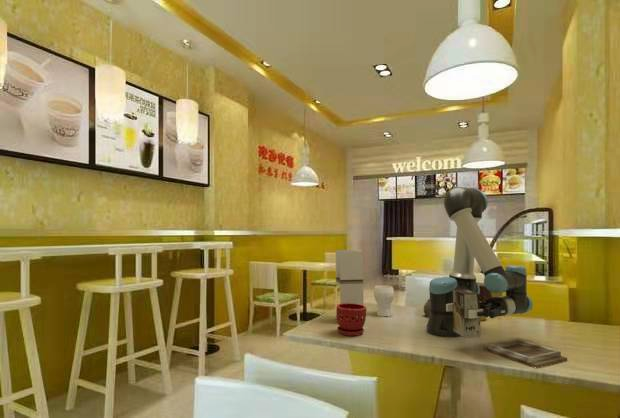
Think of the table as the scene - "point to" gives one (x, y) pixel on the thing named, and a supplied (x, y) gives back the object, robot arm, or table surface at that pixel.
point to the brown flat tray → (526, 352)
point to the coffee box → (466, 313)
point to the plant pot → (351, 318)
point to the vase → (427, 308)
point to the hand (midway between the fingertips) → (457, 311)
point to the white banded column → (350, 276)
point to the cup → (384, 299)
